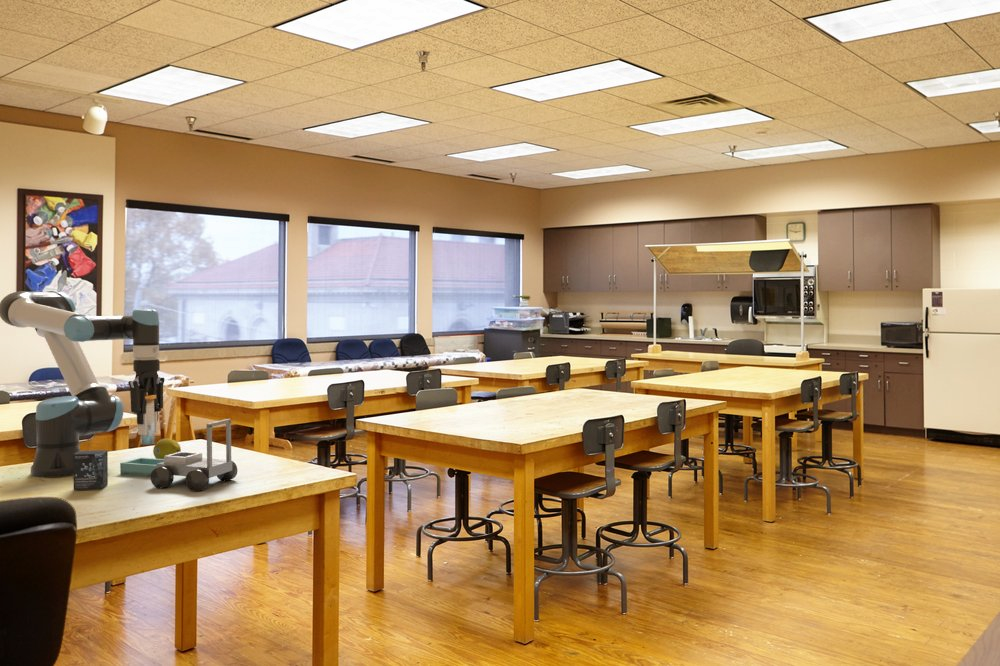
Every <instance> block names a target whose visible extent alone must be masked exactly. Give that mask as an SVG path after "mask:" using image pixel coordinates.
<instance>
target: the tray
mask: <svg viewBox="0 0 1000 666" xmlns="http://www.w3.org/2000/svg"><path fill="white" fill-rule="evenodd" d="M161 462H164V459H156V458H152V457H138V458H133V459H130V460H125V461H122V462H120V463H119V464H120V465H119V467H120V469H119V471H120V473H119V474H120V475H128V476H137V477H138V476H139V477H151V473H152V471H153V470H154V469H155V468H156V464H157V463H161Z"/></svg>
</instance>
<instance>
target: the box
mask: <svg viewBox="0 0 1000 666" xmlns="http://www.w3.org/2000/svg"><path fill="white" fill-rule="evenodd" d="M108 456H109V455H108V450H107V449H103V450H101V449H100V450H99V449H98V450H96V449H95V450H94V449H93V450H80V451H78V452H76V453H75V454H74V455H73V466H74V467H73V468H74V475H73V491H85V490H86V491H87V490H88V491H89V490H90V491H91V490H94V491H95V490H102V489H103V490H104V489H105V488H107V486H108V483H109V481H108V480H109V478H108V475H109V473H108V466H109V465H108V458H109V457H108Z"/></svg>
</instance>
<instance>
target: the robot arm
mask: <svg viewBox="0 0 1000 666" xmlns="http://www.w3.org/2000/svg"><path fill="white" fill-rule="evenodd" d="M0 319H1V320H2V321H3V322H4V323H6V324H7V325H10V326H13V327H18V328H27V327H30V328H34V330H35V331H36V334H37V335H38V337H41V338H44V339H45V342H46V343H47V346H48V348H49V350H50V351H51V354H52V356H53V359H54V360H55V362H56V364H57V367H58V369H59V371H60V373H61V375H62V377H63V379H64V382H65V383H66V386H67V387H68V390H69V392H70V395H62V396H56V397H55V396H54V397H50V398H47V399H43V400H42V401H40V402H38V403H37V405H36V407H35V410H36V411H35V424H36V425H35V427H36V428H35V429H36V431H35V432H36V451H35V454H34V459H33V463H32V465H31V466H30V476H31V477H35V478H43V479H44V478H46V479H48V478H62V477H69V476H74V468H73V467H74V466H73V455H74V454H75V453H76V452H78V451H81V448H80V436H81V437H83V436H88V435H94V434H105V433H107V432H111V431H114V430H116V429H117V428H118V427H119V426H121V425H120V424H121V423H122V421H123V419H124V418H123V416H124V404H123V402H122V399H121V398H120V397H119V396H116V395H114V394H111V395H110V394H109V391H108V389H107V387H106V386H104V385H100V384H99V382H98V381H97V378H96V376H95V374H94V372H93V369H92V368H91V365H90V363H89V362H88V360H87V357H86V355H85V353H84V350H83V349H82V346H81V345H80V342H81V343H83V342H95V341H111V340H112V341H113V340H114V341H115V340H132V357H133V364H132V365H133V367H132V368H133V372H135V376H134V379H133V380H129V381H128V382H127V383H128V386H129V392H130V394H129V395H130V396H129V397H130V411H131V413H133V414H135V415H136V424H137V434H138V435H140V436H141V435H147V414H144V412H145V404H146V400H145V396H147V394H153V395H154V394H156V399H154V412H155V434H156V433H158V421H159V412H161V411H162V409H163V408H164V383H165V377H160V376H159V374H158V372H159V371H160V370H161V369H160V367H161V366H160V364H161V363H160V362H161V361H160V360H159V359H158V358H160V319H159V312H158V310H156V309H134V310H132V315H122V314H121V315H120V314H114V315H94V316H93V315H85V314H81V313H77V312H76V305H75V301H73V299H72V298H71V297H70V296H69V295H68V294H67V293H64V292H61V291H59V292H58V291H53V290H48V291H25V290H24V291H23V290H21V291H20V290H19V291H15V292H12V293H11V292H10V293H9V294H7V295H6V296H4V297H3V298H2V299H1V300H0Z"/></svg>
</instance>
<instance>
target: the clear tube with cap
mask: <svg viewBox="0 0 1000 666" xmlns="http://www.w3.org/2000/svg"><path fill="white" fill-rule="evenodd" d="M154 399H156V394H154V395H153V394H148V393H147V396H145V400H146V404H145V412H144V414H147V435H140V444H141V445H153V444H154V445H155V444H156V433H155V412H154Z"/></svg>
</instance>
